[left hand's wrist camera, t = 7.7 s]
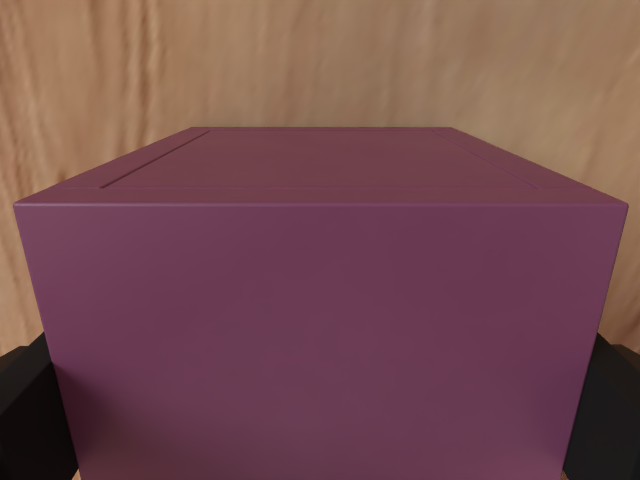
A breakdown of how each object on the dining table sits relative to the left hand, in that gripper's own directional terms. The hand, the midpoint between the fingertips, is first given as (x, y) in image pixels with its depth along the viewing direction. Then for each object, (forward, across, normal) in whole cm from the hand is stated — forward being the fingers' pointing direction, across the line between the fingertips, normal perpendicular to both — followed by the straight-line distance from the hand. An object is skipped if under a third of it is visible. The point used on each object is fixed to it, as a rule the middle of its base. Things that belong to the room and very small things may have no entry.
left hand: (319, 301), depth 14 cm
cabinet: (+6, 0, -4) cm, 7 cm away
